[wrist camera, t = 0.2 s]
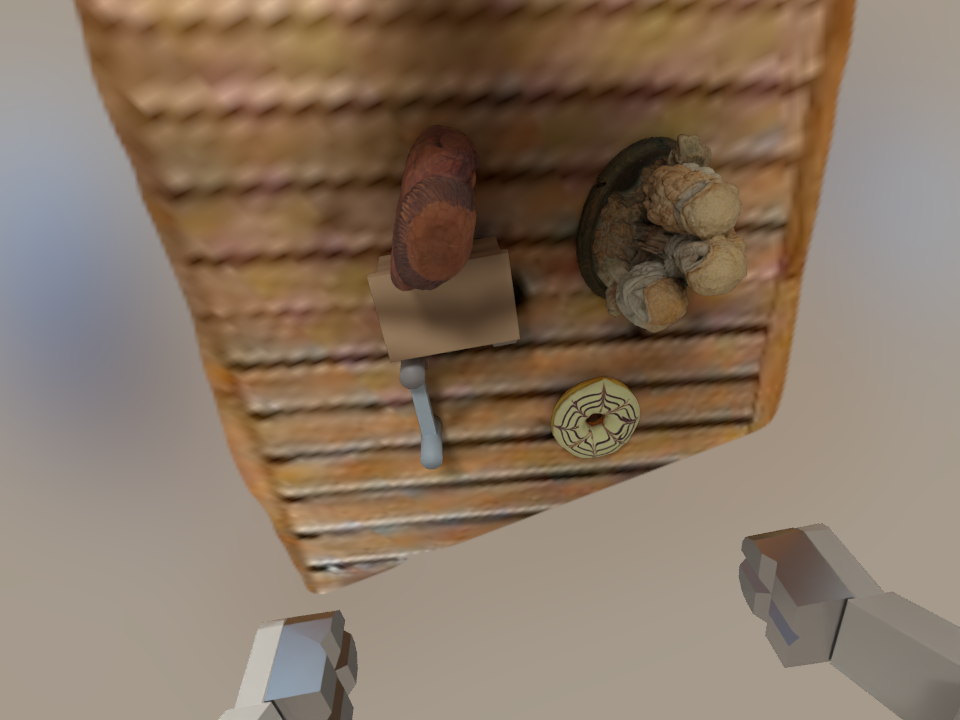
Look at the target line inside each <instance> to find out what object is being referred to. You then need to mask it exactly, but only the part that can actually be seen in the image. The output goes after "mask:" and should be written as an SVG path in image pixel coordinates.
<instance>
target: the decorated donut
mask: <svg viewBox="0 0 960 720" xmlns="http://www.w3.org/2000/svg"><path fill="white" fill-rule="evenodd" d="M594 413H600V414H602V416H601V417H600V419H598V420H597V421H595V422H587V421H586V419H587V418H588V417H590V415H592V414H594ZM639 418H640V406H639V404H638V401H637V399H636V398H635V396H634V395H633V393H632V392H631V391H630V389H629V388H628V387H627V386H626V385H624V384H623V383H622V382H621V381H618V380H616V379H612V378H607V377H597V378H594V379H591V380H586V381H585V382H582V383H580V384H578V385H576V386H574V387H572V388H571V389H568V390H567V391H566V392H565V393H564V394H563V395H562V396H561V398H560V399H559V400H558V402H557V404H556V405H555V407H554V410H553V414H552V419H551V429H552V433H553V436H554V437H555V439H556V440H557V442H558V443H559V445H561V446H562V447H563V448H564V449H566V450H567V451H569V452H570V453H571V454H573V455H575V456H577V457H580V458H596V457H601V456H604V455H607V454H611V453H614V452H616V451H617V450H618V449H620V447H621V446H622V445H624V444H625V443H627V442H628V440H629V439H630V437H631V435H632V433H633V432H634V430H635V428H636V427H637V424H638V422H639Z"/></svg>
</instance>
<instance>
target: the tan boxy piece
mask: <svg viewBox="0 0 960 720" xmlns="http://www.w3.org/2000/svg"><path fill="white" fill-rule="evenodd" d="M390 262H391V255H386V256H381V257H379V262H378V266H377V271H376V273H371V274H368V277H367V279H368V283H369V286H370V290H371V293H372V297H373V301H374V304H375V308H376V311H377V315H378V319H379V322H380V326H381V329H382V333H383V337H384V340H385V344H386V347H387V351H388V354H389V358H390V362H395V361H401V360H406V359H412V358H417V357H423V356H424V358H425V369H428V361H427V356H428V355H434V354H439V353H445V352H450V351H456V350H462V349H467V348H473V347H478V346H484V345H489V344H493V347H496V346H501V345H507V344H512V343H517V341H516V340H517V339H520V335H519V328H518V320H517V313H516V306H515V298H514V291H513V284H512V276H511V269H510V262H509V255H508V251H507V249H504V250H500V248H499V245H498V242H497V239H496V237H495V236H491V237H486V238H480V239H474V240H473V245H472V250H471V253H470V256H469V259H468V261H467V262H466V264H465V266H464V267H463V268H462V270H461V271H460V272H459V273H458V274H457V275H456V276H454V277H453V278H451V279H450V280H448V281H447V282H445V283H443V284H441V285H440V286H439V287H437V288H435V289H433V290H419V289H413V290H411V291H401V290H399V289H398V288H396V287H395V286H394V284H393V283H392V280H391V275H390V270H391V266H390Z"/></svg>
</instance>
